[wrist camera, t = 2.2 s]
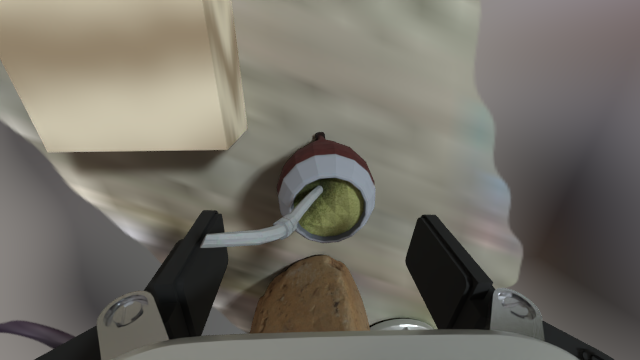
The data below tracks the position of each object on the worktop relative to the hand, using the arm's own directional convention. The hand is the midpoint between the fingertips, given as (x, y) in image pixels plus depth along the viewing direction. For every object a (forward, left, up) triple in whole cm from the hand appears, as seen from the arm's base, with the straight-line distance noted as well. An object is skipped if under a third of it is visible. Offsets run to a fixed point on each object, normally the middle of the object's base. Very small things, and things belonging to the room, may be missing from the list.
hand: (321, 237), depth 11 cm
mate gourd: (-1, 0, -12) cm, 12 cm away
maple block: (+7, +12, -12) cm, 18 cm away
